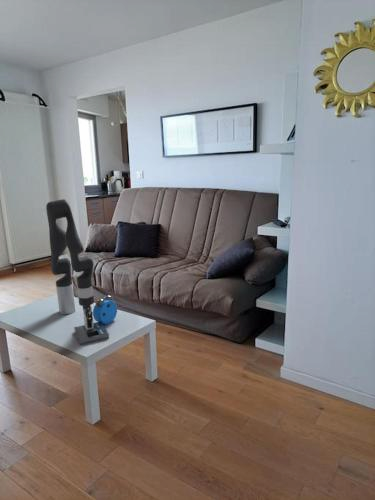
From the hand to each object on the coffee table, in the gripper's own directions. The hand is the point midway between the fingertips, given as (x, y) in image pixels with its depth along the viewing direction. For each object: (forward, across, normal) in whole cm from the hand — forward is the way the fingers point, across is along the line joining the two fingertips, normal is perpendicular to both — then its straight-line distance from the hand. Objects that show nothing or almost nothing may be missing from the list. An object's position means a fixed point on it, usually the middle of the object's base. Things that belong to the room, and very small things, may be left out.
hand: (89, 325), depth 181 cm
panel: (+4, +4, 0) cm, 6 cm away
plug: (+3, 0, 0) cm, 3 cm away
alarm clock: (+4, -8, +11) cm, 14 cm away
